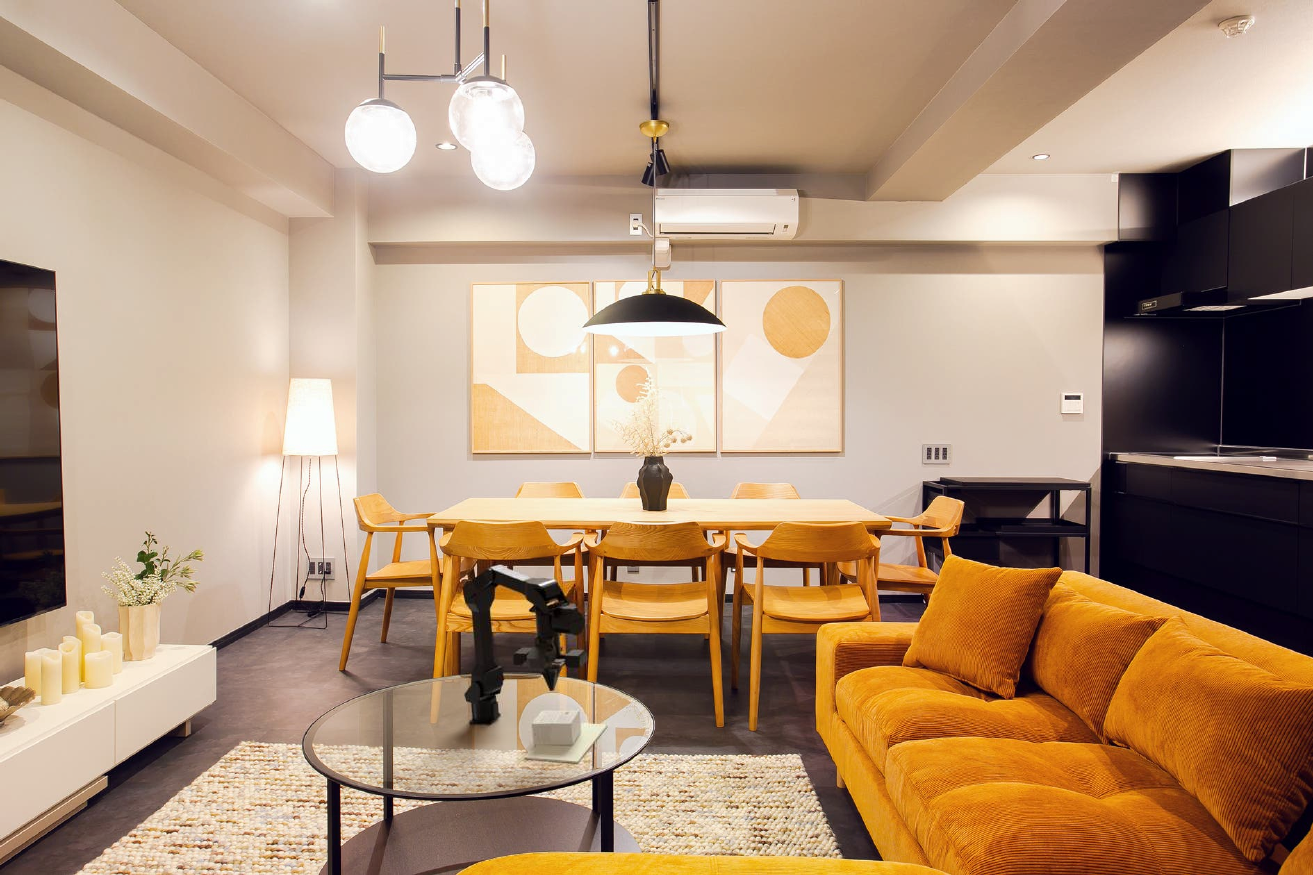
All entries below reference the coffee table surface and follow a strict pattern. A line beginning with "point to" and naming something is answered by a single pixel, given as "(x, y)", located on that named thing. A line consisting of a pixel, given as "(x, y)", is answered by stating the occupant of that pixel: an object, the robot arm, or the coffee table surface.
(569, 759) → the mat
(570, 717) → the small box
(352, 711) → the coffee table surface
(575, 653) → the robot arm
